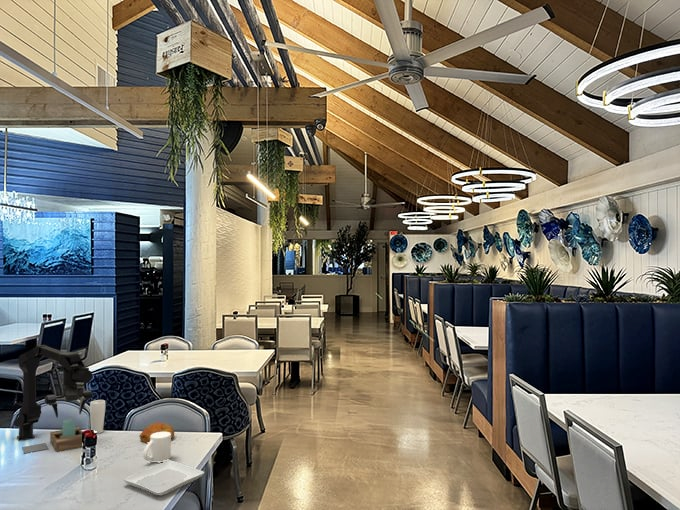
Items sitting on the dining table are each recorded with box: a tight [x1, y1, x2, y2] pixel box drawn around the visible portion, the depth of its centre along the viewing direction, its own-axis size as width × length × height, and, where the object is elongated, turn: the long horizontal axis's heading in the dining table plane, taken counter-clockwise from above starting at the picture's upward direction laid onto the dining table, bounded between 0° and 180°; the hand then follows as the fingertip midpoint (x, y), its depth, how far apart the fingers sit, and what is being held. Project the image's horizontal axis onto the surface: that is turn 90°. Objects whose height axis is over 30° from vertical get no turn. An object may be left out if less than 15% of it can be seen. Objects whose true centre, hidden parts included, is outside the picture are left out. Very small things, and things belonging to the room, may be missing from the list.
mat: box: [21, 442, 49, 455], centre depth 213 cm, size 9×9×1 cm
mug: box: [142, 432, 172, 462], centre depth 201 cm, size 8×10×12 cm
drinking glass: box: [89, 399, 106, 435], centre depth 235 cm, size 7×7×15 cm
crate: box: [49, 426, 83, 453], centre depth 219 cm, size 16×12×5 cm
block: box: [61, 418, 77, 438], centre depth 219 cm, size 4×4×7 cm
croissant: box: [138, 422, 175, 443], centre depth 228 cm, size 14×16×8 cm
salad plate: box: [122, 459, 205, 496], centre depth 180 cm, size 21×21×3 cm
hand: (68, 415), depth 219 cm, fingers open, 9 cm apart
